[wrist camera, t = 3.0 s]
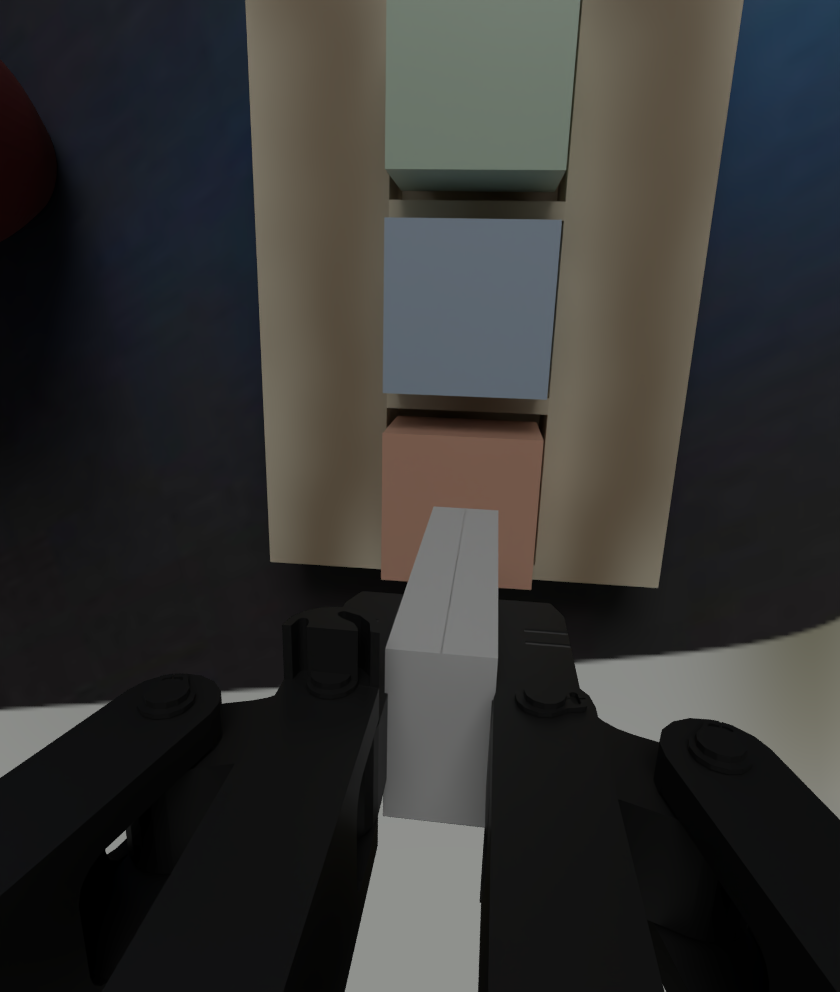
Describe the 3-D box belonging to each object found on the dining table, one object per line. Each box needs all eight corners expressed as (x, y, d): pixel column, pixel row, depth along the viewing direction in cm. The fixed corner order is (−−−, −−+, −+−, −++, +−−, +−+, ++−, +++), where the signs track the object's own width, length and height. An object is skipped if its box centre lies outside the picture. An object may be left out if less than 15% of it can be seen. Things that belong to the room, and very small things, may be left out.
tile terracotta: (395, 543, 22) (380, 579, 19) (397, 415, 20) (382, 433, 17) (525, 552, 21) (531, 589, 18) (536, 421, 20) (543, 440, 17)
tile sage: (401, 190, 18) (385, 169, 16) (404, 13, 17) (386, -46, 14) (554, 192, 18) (565, 170, 15) (568, 10, 17) (584, -52, 14)
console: (299, 529, 25) (270, 561, 22) (284, 28, 20) (244, -26, 17) (635, 550, 24) (657, 588, 21) (705, 21, 19) (748, -38, 16)
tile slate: (398, 381, 20) (382, 392, 17) (400, 231, 19) (384, 217, 16) (538, 386, 20) (546, 400, 17) (551, 233, 18) (562, 219, 15)
